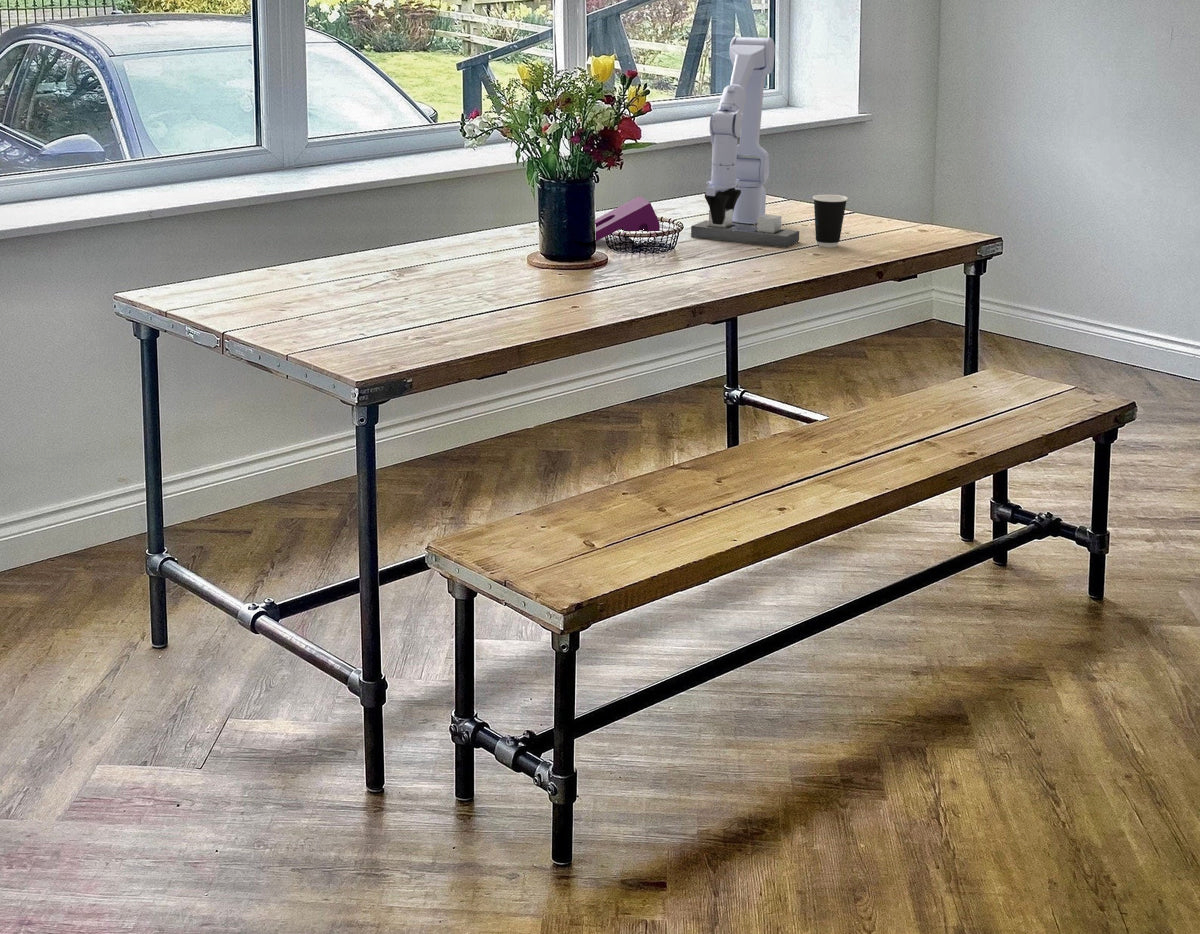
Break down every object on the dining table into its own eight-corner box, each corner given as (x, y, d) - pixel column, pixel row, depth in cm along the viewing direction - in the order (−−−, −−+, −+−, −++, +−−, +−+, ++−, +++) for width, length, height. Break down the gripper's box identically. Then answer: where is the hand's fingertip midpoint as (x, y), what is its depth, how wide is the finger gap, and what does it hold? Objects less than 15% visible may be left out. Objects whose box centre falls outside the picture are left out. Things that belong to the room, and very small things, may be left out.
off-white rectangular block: (763, 239, 336) (764, 214, 334) (780, 241, 334) (781, 216, 332) (756, 243, 333) (757, 217, 330) (773, 244, 331) (774, 218, 328)
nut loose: (715, 232, 341) (716, 207, 339) (732, 234, 339) (732, 208, 337) (708, 235, 338) (709, 210, 336) (724, 237, 336) (725, 211, 334)
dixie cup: (851, 246, 330) (855, 198, 326) (826, 250, 325) (829, 201, 322) (828, 240, 336) (831, 193, 332) (802, 243, 332) (805, 196, 328)
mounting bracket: (596, 271, 330) (665, 235, 331) (581, 239, 326) (650, 202, 327) (587, 262, 338) (654, 227, 339) (572, 231, 335) (639, 195, 336)
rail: (705, 231, 345) (705, 220, 344) (798, 241, 334) (799, 230, 333) (691, 236, 338) (691, 225, 337) (785, 247, 327) (786, 236, 326)
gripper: (721, 158, 340) (719, 215, 345) (695, 166, 329) (693, 225, 333) (748, 161, 337) (746, 218, 342) (723, 169, 325) (720, 228, 330)
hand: (721, 222), depth 337 cm, fingers open, 4 cm apart
